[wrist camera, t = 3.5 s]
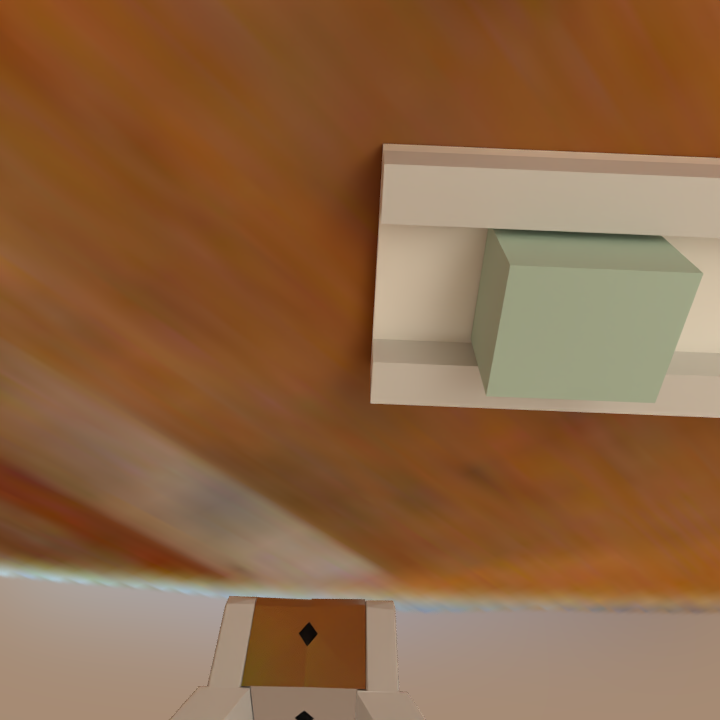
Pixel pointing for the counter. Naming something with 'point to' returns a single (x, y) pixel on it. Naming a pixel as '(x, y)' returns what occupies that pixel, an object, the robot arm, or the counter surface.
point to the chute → (528, 212)
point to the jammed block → (579, 314)
